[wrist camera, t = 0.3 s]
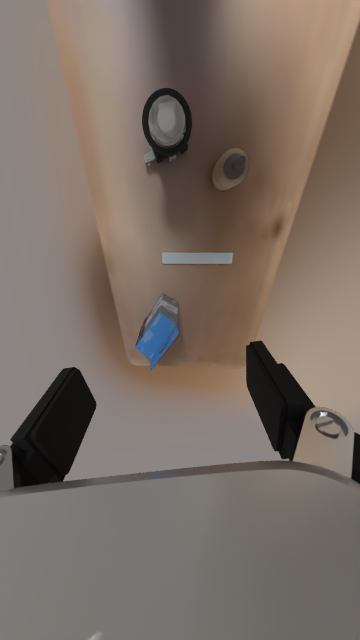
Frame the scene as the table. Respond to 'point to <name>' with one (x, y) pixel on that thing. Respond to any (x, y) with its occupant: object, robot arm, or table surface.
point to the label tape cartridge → (159, 329)
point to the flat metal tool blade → (196, 258)
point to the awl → (230, 169)
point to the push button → (166, 124)
